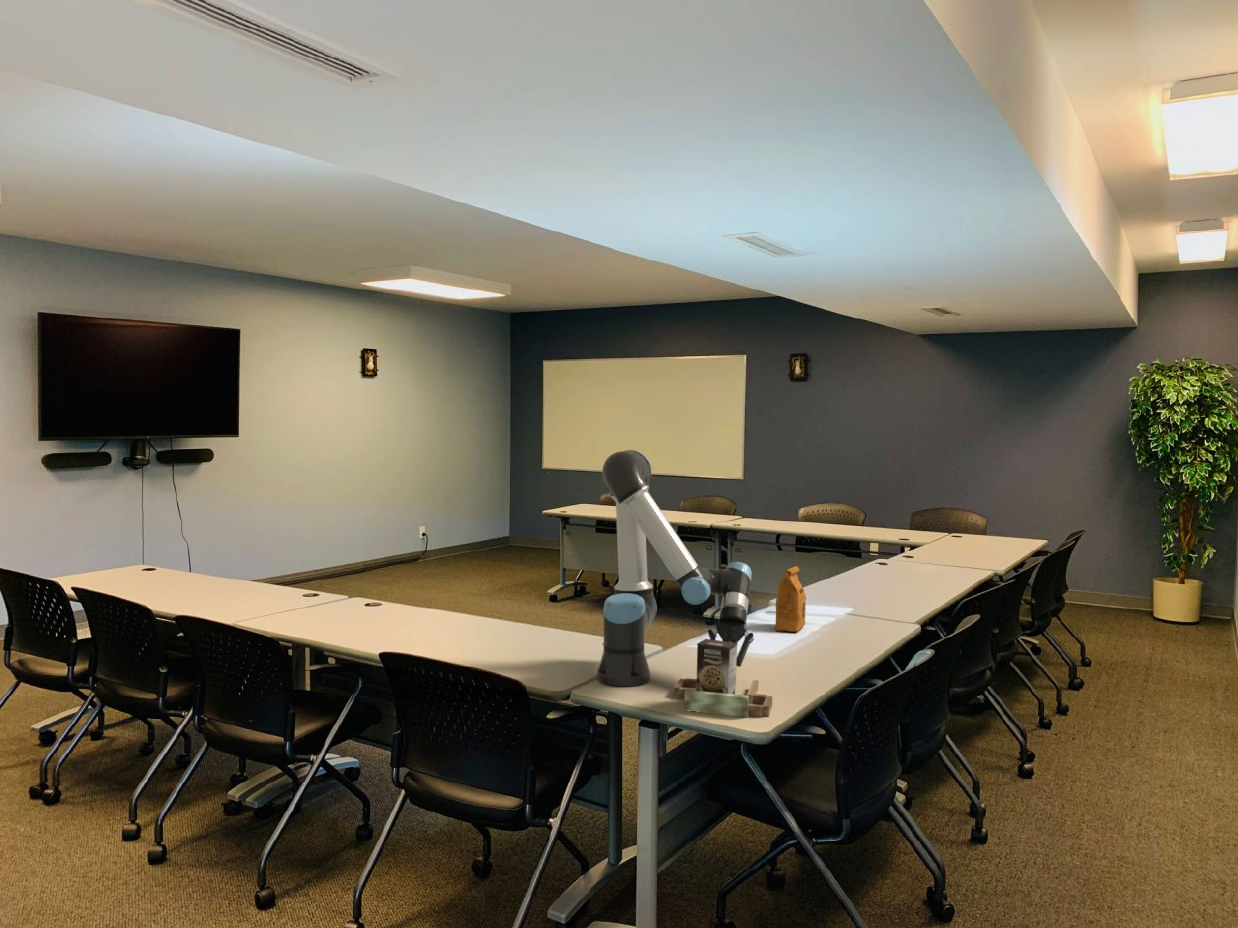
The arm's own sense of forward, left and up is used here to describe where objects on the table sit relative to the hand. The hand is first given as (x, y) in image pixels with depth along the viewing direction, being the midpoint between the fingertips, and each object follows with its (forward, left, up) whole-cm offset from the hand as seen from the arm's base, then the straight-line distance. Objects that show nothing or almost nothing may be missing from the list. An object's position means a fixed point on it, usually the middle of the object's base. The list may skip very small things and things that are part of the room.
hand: (723, 687), depth 231 cm
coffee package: (+11, +84, -3) cm, 85 cm away
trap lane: (0, -1, -3) cm, 3 cm away
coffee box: (-1, -4, -3) cm, 6 cm away
